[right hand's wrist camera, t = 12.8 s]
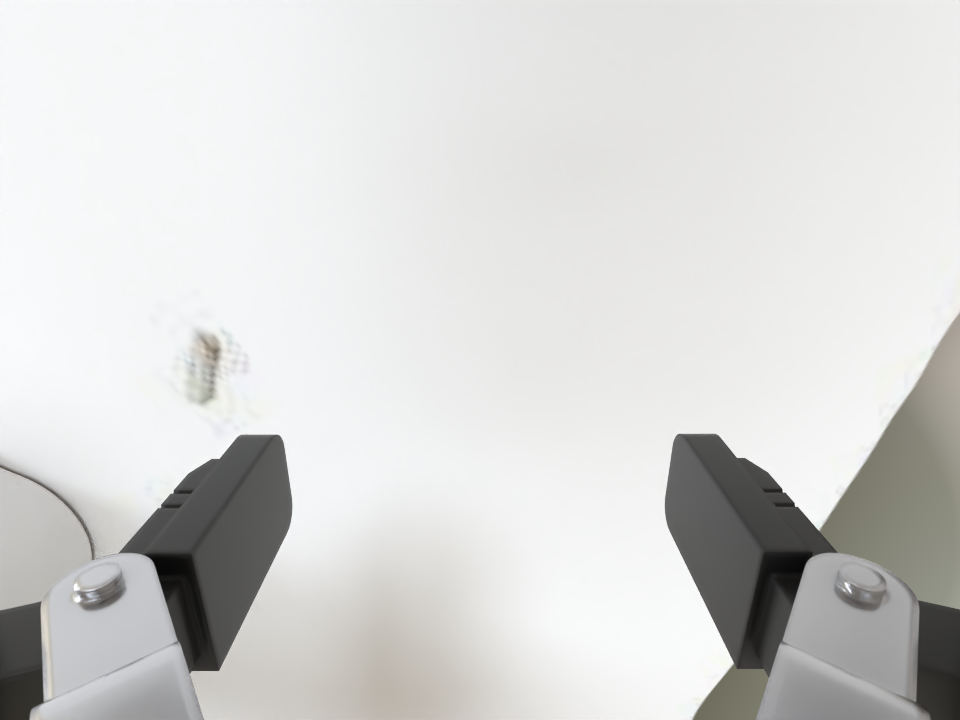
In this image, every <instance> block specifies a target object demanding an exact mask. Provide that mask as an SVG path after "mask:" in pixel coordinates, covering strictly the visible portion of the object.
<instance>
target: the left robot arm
mask: <svg viewBox="0 0 960 720" xmlns="http://www.w3.org/2000/svg"><path fill="white" fill-rule="evenodd" d="M90 561H92V551H91V546H90V542H89V539H88V536H87V534H86V532H85V530H84V528H83V526H82V524H81V523H80V521H79V520H78V518H77V517H76V516H75V514H74V513H73V512H72V511H71V510H70V509H69V508H68V507H67V506H66V505H65V504H64V503H63V502H62V501H61V500H60V499H59V498H58V497H56V496H55V495H54V494H53V493H51V492H50V491H48V490H47V489H45V488H44V487H42V486H40V485H39V484H37V483H35V482H33V481H31V480H29V479H27V478H25V477H23V476H20V475H17V474H15V473H12V472H10V471H7V470H5V469H3V468H1V467H0V610H5V609H9V608H14V607H18V606H23V605H27V604H32V603H36V602H40V601H42V600H43V598H44V596H45V594H46V593H47V591H48V590H49V589H50V588H51V587H52V586H53V585H54V584H55V583H56V582H57V581H58V580H59V579H60V578H62V577H63V576H64V575H66V574H67V573H69V572H70V571H72V570H74V569H75V568H77V567H79V566H81V565H83V564H85V563H87V562H90Z"/></svg>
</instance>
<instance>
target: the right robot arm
mask: <svg viewBox="0 0 960 720" xmlns="http://www.w3.org/2000/svg"><path fill="white" fill-rule="evenodd" d="M665 514H666V520H667V525H668V528H669V530H670V533H671V535H672V537H673V539H674V541H675V543H676V545H677V547H678V549H679V551H680V553H681V555H682V557H683V559H684V561H685V563H686V565H687V567H688V569H689V572H690V574H691V576H692V578H693V580H694V582H695V584H696V586H697V588H698V590H699V592H700V594H701V596H702V598H703V600H704V602H705V604H706V606H707V608H708V610H709V613H710V615H711V617H712V619H713V621H714V623H715V625H716V627H717V629H718V631H719V633H720V635H721V637H722V639H723V641H724V643H725V645H726V647H727V649H728V651H729V654H730V656H731V658H732V660H733V662H734V664H735V666H736V668H737V669H764V670H765V671H766V673H767V675H768V677H769V680H768V683H767V686H766V690H765V693H764V696H763V699H762V703H761V706H760V709H759V712H758V715H757V719H756V720H960V610H959V609H955V608H950V607H945V606H941V605H936V604H932V603H927V602H923V601H918V600H917V598H916V596H915V594H914V593H913V591H912V590H911V589H910V588H909V587H908V586H907V585H906V584H905V583H904V582H903V581H902V580H901V579H900V578H898V577H897V576H895V575H894V574H893V573H891V572H890V571H888V570H886V569H885V568H883V567H881V566H879V565H877V564H875V563H873V562H870V561H868V560H865V559H862V558H859V557H856V556H852V555H847V554H840V553H837V552H836V550H835V549H834V548H833V547H832V546H831V545H830V543H829V542H828V541H827V540H826V539H825V538H824V537H823V535H822V534H821V533H820V532H819V531H818V530H817V528H816V527H815V526H814V525H813V524H812V523H811V522H810V520H809V519H808V518H807V517H806V516H805V515H804V514H803V512H802V511H801V510H800V509H799V508H798V507H795V503H794V502H793V501H792V500H791V499H790V497H789V496H788V495H787V494H786V493H783V492H782V488H781V487H780V486H779V485H778V484H777V483H776V481H775V480H774V479H773V478H772V477H771V476H770V474H769V473H768V472H766V471H765V470H763V469H761V468H760V467H758V466H757V465H755V464H753V463H752V462H750V461H749V460H747V459H745V458H736V456H735V455H734V454H733V453H732V451H731V450H730V449H729V448H728V446H727V445H726V444H725V443H724V442H723V440H722V439H721V438H720V437H719V436H718V435H717V434H678V435H677V436H676V437H675V439H674V443H673V448H672V455H671V462H670V469H669V476H668V483H667V490H666V496H665ZM291 517H292V496H291V489H290V483H289V476H288V469H287V462H286V455H285V448H284V443H283V440H282V438H281V437H280V436H279V435H240V436H238V437H237V438H236V440H235V441H234V442H233V443H232V445H231V446H230V447H229V448H228V449H227V451H226V452H225V453H224V454H223V455H222V457H221V458H220V459H211V460H210V461H208V462H206V463H205V464H203V465H202V466H200V467H198V468H197V469H195V470H194V471H192V472H190V473H189V474H188V475H187V476H186V477H185V478H184V479H183V481H182V482H181V483H180V484H179V485H178V486H177V487H176V489H175V490H174V494H170V495H169V497H168V498H167V499H166V500H165V501H164V502H163V503H162V504H161V508H158V509H157V510H156V511H155V512H154V514H153V515H152V516H151V517H150V518H149V519H148V520H147V522H146V523H145V524H144V525H143V526H142V527H141V528H140V530H139V531H138V532H137V533H136V534H135V535H134V536H133V537H132V539H131V540H130V541H129V542H128V543H127V544H126V545H125V547H124V548H123V549H122V550H121V551H120V552H119V553H118V554H113V555H108V556H104V557H101V558H98V559H95V560H92V561H90V562H87V563H85V564H83V565H81V566H79V567H77V568H75V569H74V570H72V571H70V572H69V573H67V574H66V575H64V576H63V577H62V578H60V579H59V580H58V581H57V582H56V583H55V584H54V585H53V586H52V587H51V588H50V589H49V590H48V591H47V593H46V594H45V596H44V598H43V600H42V601H40V602H36V603H32V604H27V605H23V606H18V607H14V608H9V609H5V610H0V720H204V719H203V715H202V712H201V709H200V706H199V703H198V699H197V696H196V693H195V690H194V686H193V683H192V680H191V677H190V673H191V671H219V670H220V668H221V666H222V664H223V661H224V659H225V657H226V655H227V653H228V651H229V649H230V647H231V645H232V643H233V641H234V639H235V637H236V635H237V633H238V631H239V629H240V627H241V625H242V623H243V621H244V619H245V617H246V615H247V613H248V611H249V609H250V607H251V605H252V603H253V601H254V599H255V597H256V595H257V593H258V591H259V589H260V587H261V585H262V582H263V580H264V578H265V576H266V574H267V572H268V570H269V568H270V566H271V564H272V562H273V560H274V558H275V556H276V554H277V552H278V550H279V548H280V546H281V544H282V542H283V540H284V538H285V536H286V534H287V532H288V529H289V526H290V522H291Z"/></svg>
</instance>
